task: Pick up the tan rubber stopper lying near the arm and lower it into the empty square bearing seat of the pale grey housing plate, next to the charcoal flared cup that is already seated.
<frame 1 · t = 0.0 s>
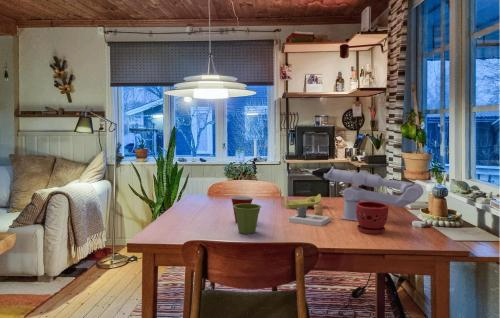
hand: (315, 171, 214), 22 cm above the table, tool horizontal, fingers open, 7 cm apart
charcoal flared cup: (301, 220, 202), resting in housing
plastic cup: (242, 222, 199), on the table
plant pot 2: (371, 232, 181), on the table
housing: (309, 221, 200), on the table
tan rubber stopper: (318, 217, 209), on the table
plant pot: (247, 232, 180), on the table
plastic component: (302, 208, 234), on the table
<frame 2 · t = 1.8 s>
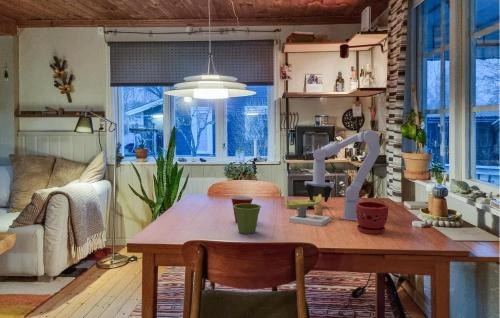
hand: (318, 200, 208), 8 cm above the table, tool pointing down, fingers open, 7 cm apart
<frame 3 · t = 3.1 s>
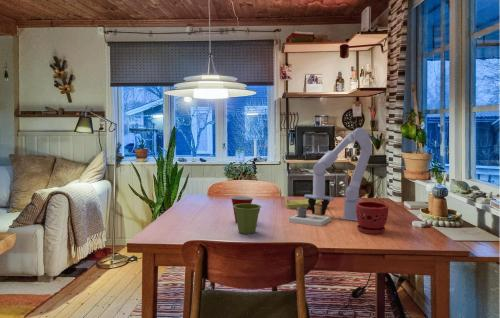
hand: (318, 214, 209), 1 cm above the table, tool pointing down, fingers closed on tan rubber stopper, 5 cm apart
tan rubber stopper: (318, 217, 209), on the table, touching gripper
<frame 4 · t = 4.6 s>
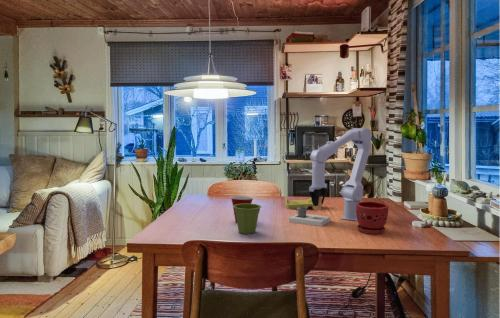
hand: (318, 204, 197), 8 cm above the table, tool pointing down, fingers closed on tan rubber stopper, 5 cm apart
tan rubber stopper: (316, 208, 198), point 6 cm above the table, touching gripper
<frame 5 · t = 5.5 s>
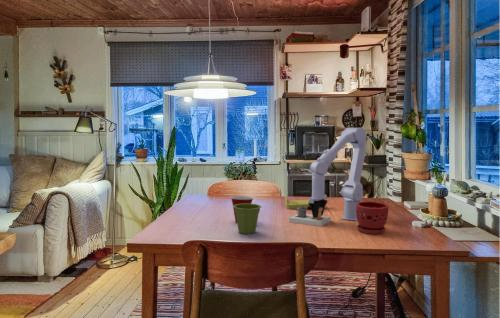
hand: (317, 216, 197), 3 cm above the table, tool pointing down, fingers closed on tan rubber stopper, 5 cm apart
tan rubber stopper: (316, 220, 198), point 1 cm above the table, touching gripper
when the fingers open (3 cm above the table, at t = 6.1 s): tan rubber stopper stays where it is, resting in housing.
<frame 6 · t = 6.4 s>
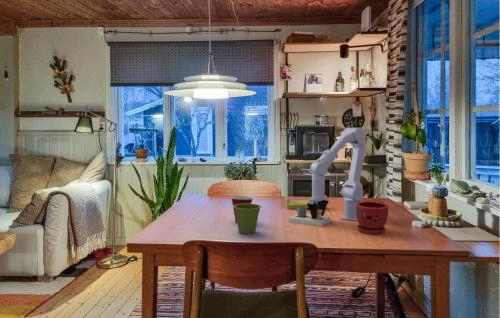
hand: (317, 217, 197), 3 cm above the table, tool pointing down, fingers open, 7 cm apart
tan rubber stopper: (316, 222, 198), resting in housing
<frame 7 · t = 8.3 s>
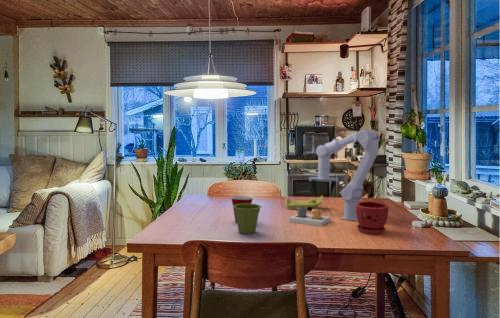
hand: (323, 195, 216), 9 cm above the table, tool pointing down, fingers open, 7 cm apart
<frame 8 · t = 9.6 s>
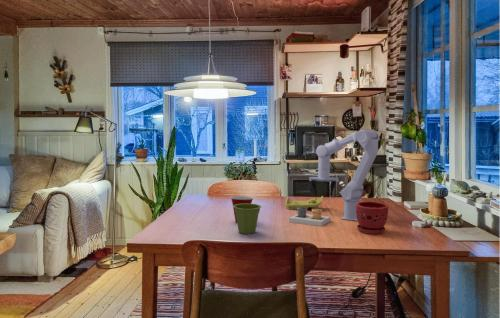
hand: (323, 195, 216), 9 cm above the table, tool pointing down, fingers open, 7 cm apart
at the end: tan rubber stopper 0.6 cm from the target spot on the housing, point 0.0 cm above the housing's base; tan rubber stopper tilted 0°; the gripper is holding nothing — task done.
